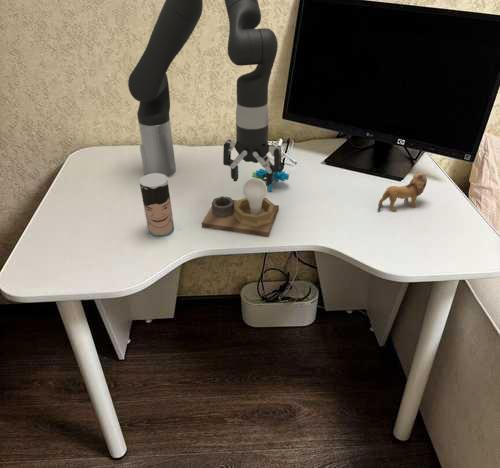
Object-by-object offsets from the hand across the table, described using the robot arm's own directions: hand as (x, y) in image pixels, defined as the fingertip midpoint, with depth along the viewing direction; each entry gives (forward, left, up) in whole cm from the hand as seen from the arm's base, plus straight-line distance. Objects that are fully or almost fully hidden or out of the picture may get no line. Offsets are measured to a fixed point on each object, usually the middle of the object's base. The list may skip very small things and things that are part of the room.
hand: (252, 182), depth 116 cm
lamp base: (-3, +1, -12) cm, 12 cm away
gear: (+1, +20, -12) cm, 23 cm away
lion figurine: (+38, +17, -12) cm, 44 cm away
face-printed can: (-22, -9, -12) cm, 27 cm away
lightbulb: (+1, +1, -11) cm, 11 cm away
